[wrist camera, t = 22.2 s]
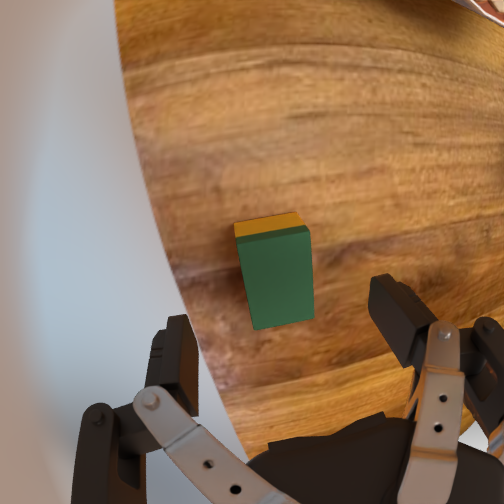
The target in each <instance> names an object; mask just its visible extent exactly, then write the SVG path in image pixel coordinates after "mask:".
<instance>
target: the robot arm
mask: <svg viewBox="0 0 504 504" xmlns="http://www.w3.org/2000/svg"><path fill="white" fill-rule="evenodd" d="M368 310H369V314H370V316H371V318H372V320H373V321H374V323H375V324H376V326H377V327H378V329H379V330H380V332H381V333H382V335H383V337H384V338H385V340H386V341H387V343H388V344H389V346H390V348H391V349H392V351H393V352H394V354H395V356H396V357H397V359H398V360H399V362H400V364H401V365H402V367H403V369H404V368H406V367H409V366H411V365H413V367H414V368H415V369H414V372H413V376H412V381H411V386H410V390H409V395H408V399H407V404H406V407H405V410H404V413H403V416H402V418H395V417H393V418H386V417H385V415H384V412H383V411H382V412H379V413H377V414H374V415H371V416H368V417H365V418H362V419H359V420H357V421H355V422H353V423H352V424H350V425H348V426H346V427H345V428H343V429H341V430H339V431H338V432H336V433H334V434H332V435H329V436H311V437H294V438H290V439H285V440H280V441H275V442H269V443H268V447H269V450H267V451H265V452H262V453H261V454H259V455H257V456H255V457H254V458H253V459H251V460H250V461H249V462H248V463H247V464H245V463H243V462H242V461H241V460H240V459H239V458H237V457H236V456H235V455H234V454H233V453H232V452H231V451H229V450H228V449H227V448H226V447H225V446H224V445H223V444H222V443H221V442H219V441H218V440H217V439H216V438H215V437H214V436H213V435H212V434H211V433H210V432H209V431H208V430H207V429H206V428H205V427H203V426H202V425H201V424H198V423H196V422H195V421H194V420H193V419H192V418H191V417H196V416H199V415H198V414H199V413H198V411H199V410H198V364H199V362H198V361H199V359H198V358H199V353H198V352H199V351H198V345H197V341H196V338H195V335H194V333H193V330H192V327H191V324H190V322H189V319H188V316H187V315H186V314H183V315H176V316H170V317H168V321H167V327H166V329H164V330H159V331H158V333H157V334H156V335H155V337H154V338H153V341H152V346H151V351H150V359H149V363H148V369H147V375H146V381H145V387H144V389H142V390H141V391H140V392H138V393H137V395H136V396H135V398H134V401H133V402H132V403H130V404H127V405H124V406H121V407H118V408H115V409H112V408H111V407H110V406H109V405H108V404H105V403H96V404H93V405H91V406H90V407H88V408H87V409H86V411H85V412H84V414H83V417H82V421H81V427H80V432H79V438H78V445H77V451H76V459H75V466H74V475H73V483H72V496H71V504H147V499H146V453H148V452H152V451H155V450H158V449H161V448H163V449H164V451H165V453H166V454H167V455H168V456H169V458H170V459H171V460H172V461H173V462H174V463H175V465H176V466H177V467H178V468H179V469H180V470H181V471H182V473H183V474H184V475H185V476H186V477H187V478H188V479H189V480H190V481H191V482H192V483H193V484H194V485H195V486H196V488H197V489H198V490H199V491H200V492H201V493H202V494H203V495H204V496H205V497H206V498H207V499H208V500H209V501H210V502H211V503H213V504H504V329H503V328H502V327H501V326H500V325H499V323H498V322H497V321H496V320H494V319H492V318H490V317H480V318H478V319H477V320H476V321H475V323H474V326H473V327H472V328H463V329H458V328H457V327H456V326H455V325H454V324H452V323H451V322H448V321H439V320H438V319H437V318H436V317H435V315H434V314H433V313H432V312H431V311H430V310H429V308H428V307H427V306H426V305H425V304H424V303H423V302H422V301H421V299H420V298H419V297H418V296H417V295H416V294H415V293H414V291H413V290H412V289H411V288H410V287H409V286H407V285H405V284H403V283H402V282H396V281H395V280H394V279H393V277H392V276H391V275H390V274H388V273H386V274H382V275H378V276H374V277H372V278H371V282H370V292H369V301H368ZM486 362H488V363H489V365H490V366H491V368H492V369H493V370H494V372H495V374H496V376H497V382H496V381H495V379H494V378H493V376H492V375H491V373H490V372H489V370H488V369H487V367H486V366H485V364H486ZM464 390H465V391H466V393H467V395H468V397H469V398H470V400H471V402H472V404H473V405H474V407H475V409H476V411H477V413H478V415H479V416H480V418H481V420H482V422H483V424H484V426H485V428H486V430H487V432H488V434H489V440H488V445H489V446H488V448H487V453H486V452H483V451H481V450H478V449H476V448H473V447H471V446H468V445H466V444H463V443H461V442H459V441H458V438H459V432H460V425H461V416H462V407H463V396H464Z"/></svg>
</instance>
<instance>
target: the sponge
mask: <svg viewBox="0 0 504 504" xmlns="http://www.w3.org/2000/svg"><path fill="white" fill-rule="evenodd" d="M234 231H235V238H236V245H237V250H238V255H239V261H240V265H241V270H242V275H243V280H244V285H245V290H246V295H247V300H248V305H249V310H250V315H251V319H252V324H253V329H254V330H260V329H265V328H270V327H276V326H280V325H285V324H290V323H295V322H299V321H304V320H309V319H313V318H314V291H313V270H312V253H311V238H310V231H309V229H308V228H307V227H306V225H305V223H304V222H303V221H302V219H301V218H300V216H299V215H298V214H297V212H293V213H287V214H281V215H275V216H270V217H264V218H259V219H253V220H248V221H242V222H237V223H234Z"/></svg>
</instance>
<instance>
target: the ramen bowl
mask: <svg viewBox="0 0 504 504" xmlns="http://www.w3.org/2000/svg"><path fill="white" fill-rule="evenodd" d="M452 1H454V2H456V3H458V4H460V5H462V6H464V7H466V8H468V9H470V10H472V11H474V12H476V13H478V14H480V15H481V16H483V17H485V18H487V19H489V20H491V21H492V22H494V23H496V24H498V25H499V26H501V27H503V28H504V0H452Z"/></svg>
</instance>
